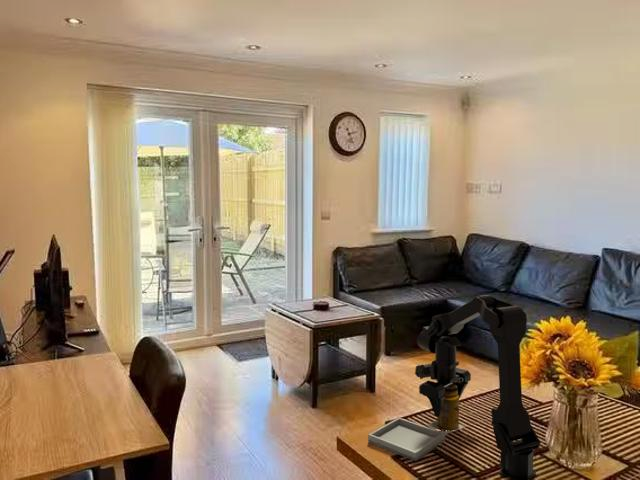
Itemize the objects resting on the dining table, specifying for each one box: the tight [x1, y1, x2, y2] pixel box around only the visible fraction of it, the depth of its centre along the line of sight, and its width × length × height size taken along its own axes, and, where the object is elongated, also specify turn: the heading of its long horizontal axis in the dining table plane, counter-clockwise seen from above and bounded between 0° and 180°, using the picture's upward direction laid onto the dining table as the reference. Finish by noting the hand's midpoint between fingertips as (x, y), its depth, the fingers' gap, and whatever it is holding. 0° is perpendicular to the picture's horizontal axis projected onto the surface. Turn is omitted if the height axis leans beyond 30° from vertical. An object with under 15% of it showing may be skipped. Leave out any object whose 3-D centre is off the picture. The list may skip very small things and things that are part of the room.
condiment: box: [425, 384, 466, 435], centre depth 153 cm, size 7×8×12 cm
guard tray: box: [367, 417, 446, 462], centre depth 145 cm, size 15×14×2 cm
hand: (445, 411), depth 154 cm, fingers open, 9 cm apart
